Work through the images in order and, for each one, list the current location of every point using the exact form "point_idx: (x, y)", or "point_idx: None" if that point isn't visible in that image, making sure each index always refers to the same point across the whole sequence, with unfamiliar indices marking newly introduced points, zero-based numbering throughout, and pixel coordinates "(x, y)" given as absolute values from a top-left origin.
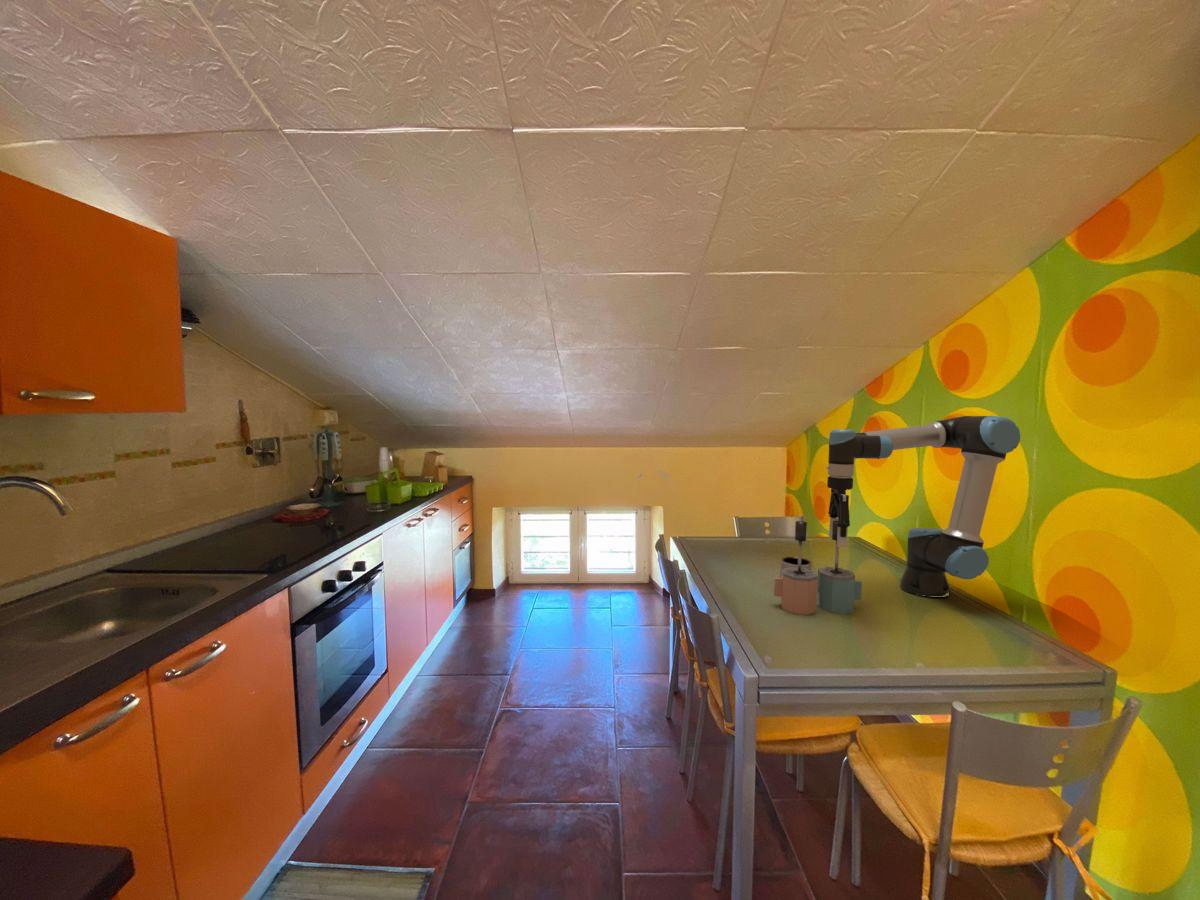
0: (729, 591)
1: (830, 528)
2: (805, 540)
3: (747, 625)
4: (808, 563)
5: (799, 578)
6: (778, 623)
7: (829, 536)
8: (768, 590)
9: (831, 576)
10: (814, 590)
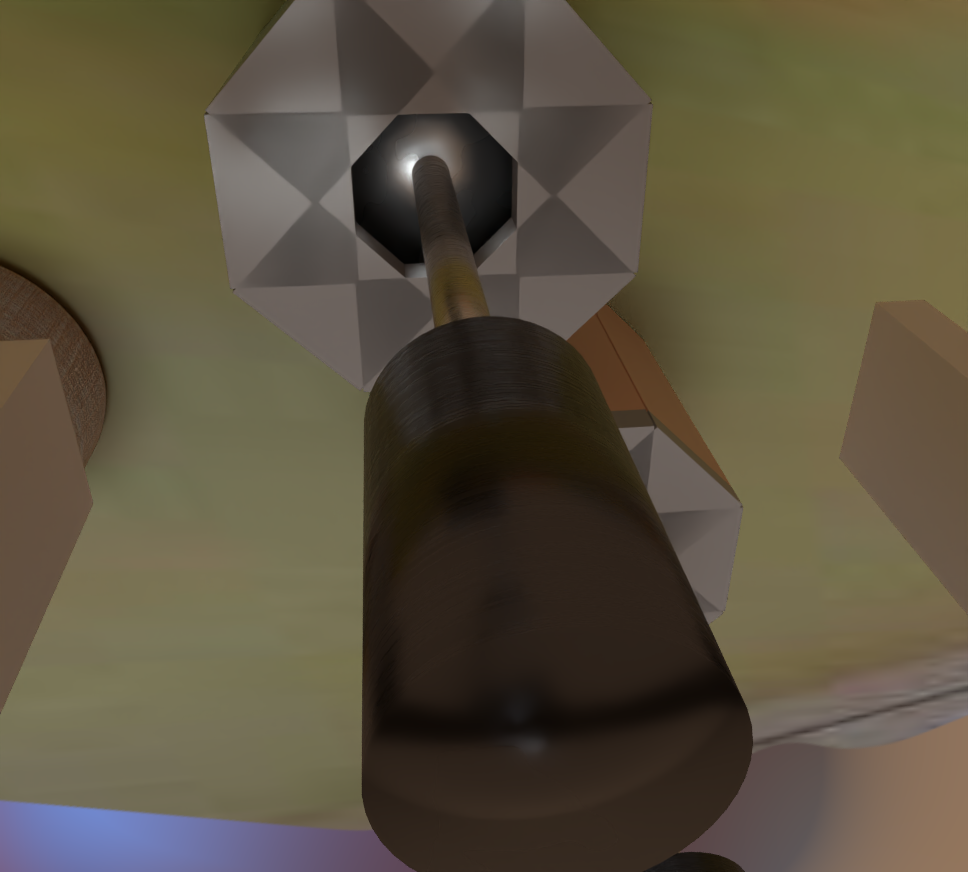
0: (343, 759)
1: (29, 627)
2: (728, 865)
3: (850, 649)
4: None
5: (728, 571)
6: (810, 513)
7: (89, 507)
8: (212, 565)
9: (625, 282)
10: (642, 378)
